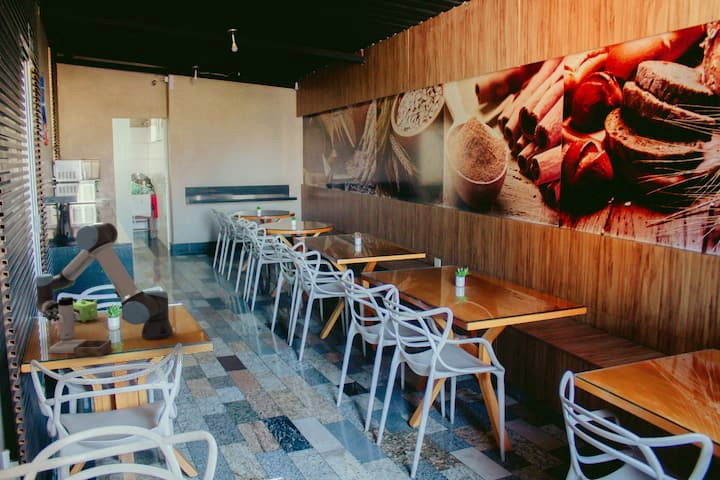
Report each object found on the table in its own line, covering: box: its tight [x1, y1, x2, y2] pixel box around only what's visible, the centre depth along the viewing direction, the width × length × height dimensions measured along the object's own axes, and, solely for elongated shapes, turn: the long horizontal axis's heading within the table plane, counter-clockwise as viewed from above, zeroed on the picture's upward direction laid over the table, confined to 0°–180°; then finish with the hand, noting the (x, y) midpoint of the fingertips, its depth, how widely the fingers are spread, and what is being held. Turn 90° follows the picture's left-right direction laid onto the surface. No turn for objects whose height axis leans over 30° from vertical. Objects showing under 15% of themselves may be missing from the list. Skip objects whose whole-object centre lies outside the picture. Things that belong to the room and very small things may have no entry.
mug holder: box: [73, 339, 113, 358], centre depth 269 cm, size 12×12×4 cm
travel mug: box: [57, 296, 76, 341], centre depth 272 cm, size 6×7×20 cm
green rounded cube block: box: [73, 299, 99, 323], centre depth 323 cm, size 15×14×11 cm
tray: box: [48, 339, 86, 354], centre depth 274 cm, size 12×12×2 cm
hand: (70, 318), depth 268 cm, fingers closed on travel mug, 6 cm apart
